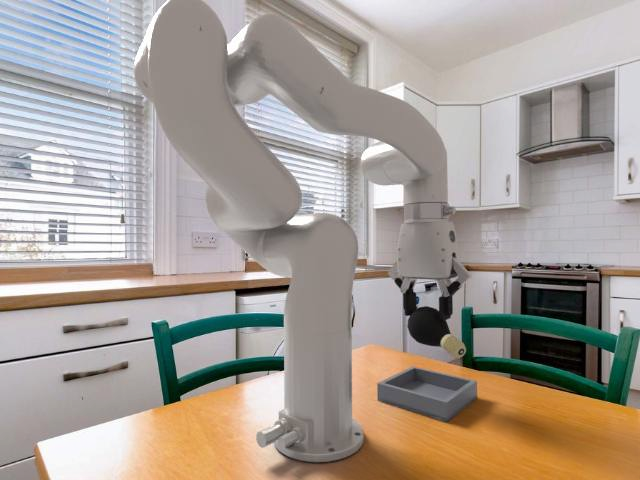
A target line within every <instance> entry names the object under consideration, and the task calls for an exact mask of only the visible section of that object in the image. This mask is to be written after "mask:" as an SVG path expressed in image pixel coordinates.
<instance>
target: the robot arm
mask: <svg viewBox="0 0 640 480" xmlns="http://www.w3.org/2000/svg"><path fill="white" fill-rule="evenodd" d="M228 41H229V40H228V37H227V34H226V30H225V27H224V26H223V23H222V20H221V19H220V18H219V17H218V15H217V13H216V12H215V11H214V9H213V8H212V7H211V6H210V5H208V4H207V3H206V2H205V1H203V0H167V1H166V2H165V3H164V4H163V5H161V6H160V7H159V9H157V12H156V13H155V15H154V16H153V18H152V19H151V22H150V24H149V26H148V28H147V30H146V34H145V35H144V38H143V42H142V43H141V45H140V47H139V49H138V52H137V54H136V57H135V61H134V65H133V75H134V80H135V83H136V86H137V88H138V90H139V91H140V93H141V95H143V97H145V99H146V100H147V101H149V102H150V103H152V104H153V105H154V109H155V112H156V115H157V118H158V121H159V124H160V126H161V128H162V131H163V133H164V134H165V136H166V138H167V140H168V141H169V144H170V145H171V146H172V148H173V149H174V150H175V151H176V152H177V154H178V155H179V156H180V157H181V159H183V160H184V162H185V163H186V164H188V166H189V167H190V168H191V169H192V170H193V171H194V172H195V173H196V174H197V175H198V176H199V177H200V178H201V180H202V181H203V182H204V183H206V185H207V188H206V192H205V205H206V208H207V212H208V214H209V216H210V218H211V220H212V221H213V223H214V224H215V225H216V226H217V227H218V229H219V230H220V231H222V233H224V234H225V235H226V236H227V237H228V238H229V239H230V240H231V241H232V242H234V243H235V244H236V245H237V246H238V247H239V248H240V249H242V251H243V252H245V253H246V254H247V255H248V256H249V257H251V258H252V260H254V261H255V262H256V263H257V264H259V265H260V266H261V267H262V268H263V269H265V270H266V271H267V272H269V273H271V274H273V275H276V276H277V277H282V278H283V277H284V278H289V279H290V282H289V287H288V290H287V293H286V296H285V301H284V309H283V332H284V333H283V334H284V335H283V339H284V340H283V346H284V347H283V348H284V349H283V353H284V355H283V357H284V358H283V361H284V363H283V365H284V366H283V368H284V370H283V375H284V376H283V377H284V379H283V381H284V383H283V384H284V389H283V391H284V394H283V395H284V396H283V397H284V403H283V405H284V409H282V410H278V420H276V421H275V422H274V424H273V425H272V426H268V427H267V428H263V429H262V430H259V431H258V432H257V433H256V435H255V436H256V443H257V445H258V446H259V447H260V448H262V449H263V448H264V449H265V448H267V446H270V445H271V444H274V446H275V448H276V449H277V450H278V451H279V452H280V453H281V454H283V455H285V456H286V457H289V458H291V459H293V460H297V461H303V462H307V463H308V462H309V463H326V462H333V461H338V460H342V459H345V458H347V457H349V456H352V455H353V454H355V453H356V452H358V451H359V449H361V447H362V445H363V443H364V438H365V436H364V429H363V426H362V425H361V424H360V423H359V422H358V421H357V420H355V419H354V418H353V352H352V351H353V349H352V348H353V347H352V346H353V338H352V337H353V334H352V329H353V328H352V310H353V309H352V308H353V307H352V306H353V305H352V303H353V302H352V301H353V299H352V297H353V287H354V281H355V280H354V279H355V273H356V268H357V263H358V258H359V241H358V237H357V233H355V230H354V228H353V227H352V225H351V224H350V223H349V222H348V221H347V220H345V219H344V218H343V217H341V216H339V215H336V214H334V213H330V212H329V213H327V212H314V213H307V214H304V213H303V214H299V215H297V214H298V213H299V211H300V209H301V207H302V203H303V194H302V190H301V187H300V184H299V182H298V181H297V179H296V177H295V176H294V175H293V173H292V172H291V171H290V170H289V169H288V168H287V166H285V164H284V163H283V162H281V160H280V159H279V158H278V157H277V156H276V155H275V153H274V152H272V150H271V149H270V148H269V147H268V146H267V145H266V144H265V143H264V142H263V140H261V138H260V137H259V136H258V135H257V134H256V133H255V131H253V130H252V128H251V127H250V125H249V124H247V122H246V121H245V119H244V118H243V117H242V115H241V114H240V113H239V112H238V110H237V108H236V107H238V106H239V107H240V106H247V105H252V104H255V103H257V102H260V101H262V100H263V99H264V98H266V97H267V96H269V94H270V95H271V96H272V97H274V98H275V99H276V100H278V101H279V102H280V103H281V104H283V105H284V106H285V107H286V108H287V109H289V110H290V111H292V112H293V113H294V114H296V115H297V116H298V117H299V118H300V119H302V120H303V121H304V122H305V123H306V124H307V125H309V127H311V128H312V129H314V130H315V131H317V132H319V133H321V134H322V133H323V134H327V135H336V136H354V137H355V136H356V137H362V138H363V137H364V138H368V139H372V140H376V141H378V142H375V143H373V144H372V145H370V146H368V148H366V149H365V150H364V152H363V153H362V155H361V158H360V170H361V173H362V174H363V176H364V178H366V179H367V180H368V181H369V182H371V183H372V184H375V185H377V186H384V187H385V186H397V185H402V186H403V210H404V211H403V212H404V213H403V215H404V216H403V219H404V222H403V223H401V226H400V228H399V229H400V230H399V235H398V242H397V255H396V257H397V258H396V260H397V261H395V263H393V265H392V266H391V267H390V269H389V270H388V271H387V275H388V276H389V277H390V279H392V280H393V281H394V284H395V285H396V286H397V287H398V288H399V291H400V293H401V294H402V297H403V298H402V299H403V300H402V301H403V302H402V303H403V304H402V305H403V310H404V316H406V317H410V314H411V313H412V312H413V311H414V310H416V309H417V293H416V292H415V291H414V290H415V289H414V288H415V287H416V283H417V282H418V281H417V280H433V281H434V280H436V282H437V285H438V287H439V290H440V292H441V296H439V297H438V311H439V319H440V320H443V321H444V320H446V321H447V320H449V319H452V315H453V314H454V313H453V312H454V309H453V308H454V307H453V304H454V303H453V296H455V295H456V293H457V292H458V291H459V290H460V289H461V288H462V287H463V286H464V285H465V284H466V283H467V282H468V281H470V279H471V278H472V274H471V273H470V272H469V271H468V270H467V269H466V267H465V266H464V265H463V264H462V263H461V262H460V256H459V254H460V253H459V246H458V239H457V233H456V229H455V228H456V227H455V224H454V222H453V221H449V219H450V216H452V215H455V214H456V207H455V206H450V204H449V196H448V195H449V191H448V190H449V189H448V187H449V186H448V151H447V149H446V145H445V143H444V141H443V139H442V137H441V135H440V134H439V132H438V131H437V129H436V128H435V127H434V126H433V124H431V122H430V121H429V120H428V119H427V118H426V117H425V116H424V114H422V113H421V112H420V111H419V110H418V109H417V108H415V107H414V105H411V104H410V103H409V102H407V101H405V100H403V99H401V98H398V97H397V96H393V95H391V94H387V93H385V92H382V91H379V90H377V89H373V88H370V87H368V86H367V87H366V86H362V85H358V84H357V83H354V82H353V81H352V80H350V79H349V77H347V76H346V75H345V74H344V73H343V72H342V71H341V70H340V69H339V68H337V66H335V65H334V64H333V62H331V61H330V60H329V58H327V57H326V56H325V55H324V54H323V53H322V52H321V51H319V49H318V48H317V47H316V46H315V45H314V44H312V42H311V41H310V40H308V39H307V38H306V37H305V36H304V35H303V34H302V33H301V32H300V30H298V29H297V28H296V27H295V26H294V25H293V24H292V23H291V22H289V21H288V20H287V19H286V18H284V17H282V16H281V15H278V14H274V13H264V14H261V15H259V16H257V17H255V18H254V19H253V20H251V21H250V22H248V24H246V25H245V26H244V27H243V28H242V29H241V30H240V31H239V33H238V34H237V35H236V36H235V37H234V38H233V39H232V40H231V42H230V43H228ZM454 278H456V279H455V280H453V281H452V279H454Z"/></svg>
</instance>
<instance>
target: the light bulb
mask: <svg viewBox="0 0 640 480" xmlns="http://www.w3.org/2000/svg"><path fill="white" fill-rule="evenodd" d="M406 327H407V330H408V333H409V335H410V336H411V337H412V339H413V340H415V341H416V343H419V344H421V345H424V346H430V347H437V348H438V347H439V348H442V349H443V350H444V351H445V352H447V353H449V355H450V356H451V357H453V358H454V359H461V358H462V357H464V356H465V354H466V352H467V348H466V346H465V343H464V342H462V341H461V340H460V339H459V338H457V337H456V336H454V334H452V333H451V330H450V328H449V327H450V326H449V325H448V322H447V320H444V321H443V320H440V319H439V309H437V308H435V307H431V306H428V305H426V306H421V307H416V310H414V311H413V312H412V313H411V314H410V316H408V319H407V325H406Z"/></svg>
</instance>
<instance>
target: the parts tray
mask: <svg viewBox="0 0 640 480" xmlns="http://www.w3.org/2000/svg"><path fill="white" fill-rule="evenodd" d="M376 385H377V386H376V387H377V389H376V390H377V395H376V397H377V401H379V402H381V403H383V404H387V405H391V406H394V407H398V408H400V409H403V410H406V411H409V412H414V413H416V414H418V415H419V414H420V415H422V416H425V417H428V418H431V419H435V420H438V421H441V422H445V423H448V422H449V421H450V420H452V419H453V418H454V417H456V416H457V415H458V414H459V413H460V412H462V411H463V410H464V409H465V408H467V407H468V406H469V405H470V404H472V403H473V402H475V400H477V398H478V381H477V380H474V379H471V378H465V377H461V376H456V375H453V374H449V373H444V372H440V371H435V370H432V369H431V370H430V369H427V368H422V367H418V366H415V365H413V366H411V367H409V368H407V369H404V370H401V371H400V372H398V373H396V374H394V375H392V376H390V377H387V378H385V379H384V380H381V381H378V382H377V384H376Z"/></svg>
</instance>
